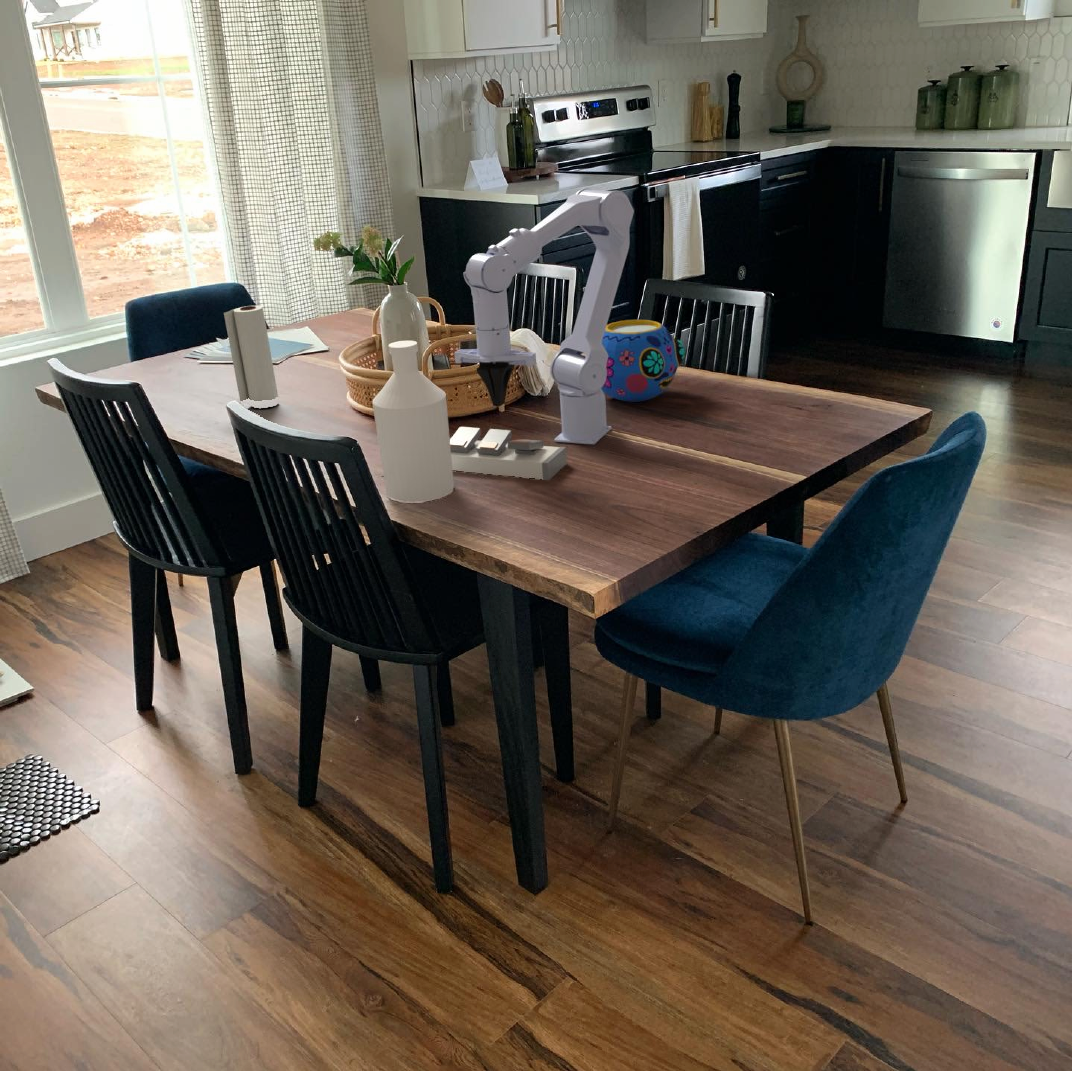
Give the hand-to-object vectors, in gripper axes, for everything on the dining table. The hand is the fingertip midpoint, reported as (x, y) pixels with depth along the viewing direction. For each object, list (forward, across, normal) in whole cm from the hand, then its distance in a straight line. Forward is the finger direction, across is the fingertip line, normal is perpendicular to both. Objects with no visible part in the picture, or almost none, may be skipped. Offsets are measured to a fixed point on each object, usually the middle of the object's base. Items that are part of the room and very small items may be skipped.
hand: (499, 404), depth 186 cm
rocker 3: (+6, +6, -3) cm, 9 cm away
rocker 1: (+6, -6, -3) cm, 9 cm away
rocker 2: (+6, 0, -3) cm, 7 cm away
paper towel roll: (+11, -67, +19) cm, 70 cm away
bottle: (+11, -8, -17) cm, 21 cm away
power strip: (+10, -3, -3) cm, 11 cm away
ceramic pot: (+11, +11, +40) cm, 43 cm away
